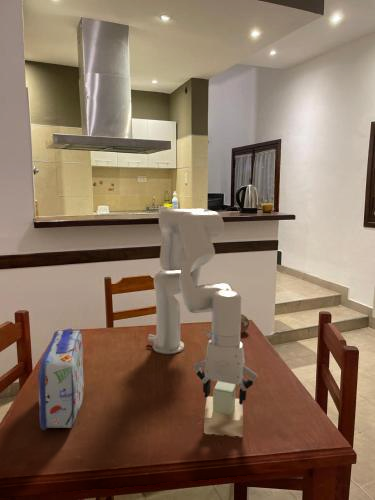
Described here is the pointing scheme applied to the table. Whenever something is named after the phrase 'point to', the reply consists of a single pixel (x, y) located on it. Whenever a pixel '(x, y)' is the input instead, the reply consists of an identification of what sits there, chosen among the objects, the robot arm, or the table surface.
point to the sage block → (224, 397)
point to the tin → (244, 323)
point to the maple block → (223, 420)
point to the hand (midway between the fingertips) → (224, 398)
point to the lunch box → (61, 380)
